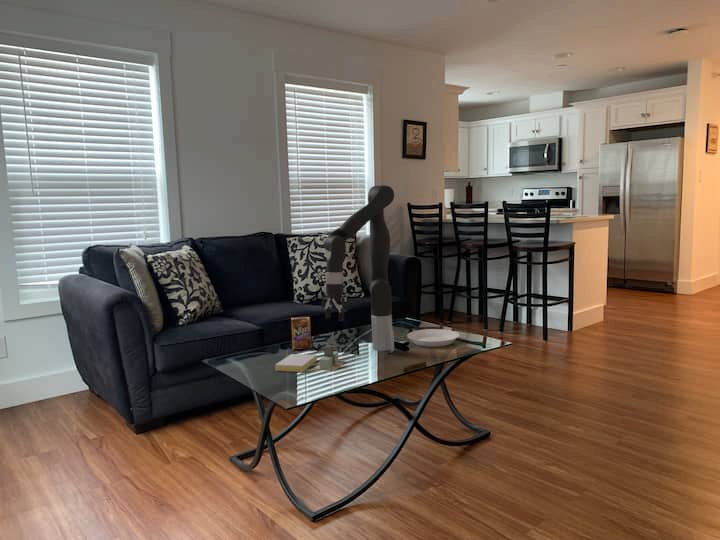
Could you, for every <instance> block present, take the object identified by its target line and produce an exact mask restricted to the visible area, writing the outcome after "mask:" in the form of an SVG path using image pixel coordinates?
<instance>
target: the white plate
mask: <svg viewBox="0 0 720 540" xmlns="http://www.w3.org/2000/svg"><path fill="white" fill-rule="evenodd" d="M406 336H407V338H408V339H410V340H411V341H412V342H413V343H414V344H415V345H417V346H420V347H429V348H431V347H432V348H436V347H446V346H448V345H449V346H450V345H451V344H453V342H454V341H455V340H456V339H457V338H459V336H460V334H459V332H457V331H454V330H451V329H450V330H449V329H445V328H444V329H442V328H429V329H427V328H425V329H420V330H419V329H418V330H414V331H411V332H409V333H407V335H406Z"/></svg>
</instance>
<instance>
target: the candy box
mask: <svg viewBox="0 0 720 540" xmlns="http://www.w3.org/2000/svg"><path fill="white" fill-rule="evenodd" d="M290 319H291V320H290V321H291V322H290V323H291V340H292V341H291V342H292V350H293V349H303V348H307V349H312V339H311V338H312V336H311V335H312V334H311V318H310V316H300V317H291V318H290Z"/></svg>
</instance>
